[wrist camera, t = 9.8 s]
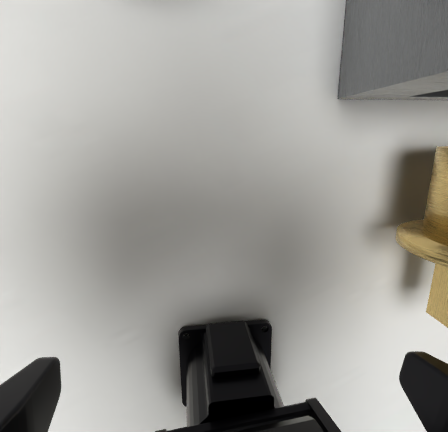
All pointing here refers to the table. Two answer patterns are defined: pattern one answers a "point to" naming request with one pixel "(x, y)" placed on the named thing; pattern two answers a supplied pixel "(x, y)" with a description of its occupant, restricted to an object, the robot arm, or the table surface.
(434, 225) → the end cover
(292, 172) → the table surface
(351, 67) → the block
